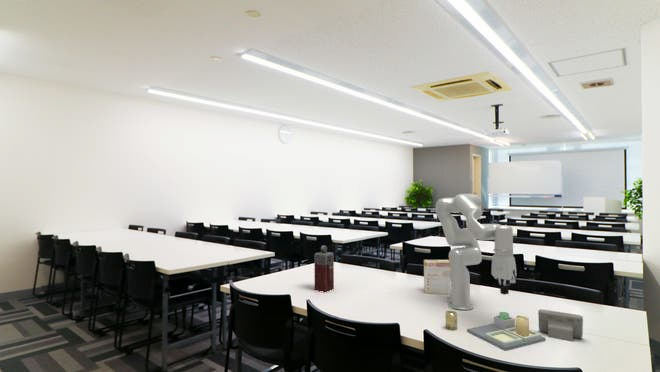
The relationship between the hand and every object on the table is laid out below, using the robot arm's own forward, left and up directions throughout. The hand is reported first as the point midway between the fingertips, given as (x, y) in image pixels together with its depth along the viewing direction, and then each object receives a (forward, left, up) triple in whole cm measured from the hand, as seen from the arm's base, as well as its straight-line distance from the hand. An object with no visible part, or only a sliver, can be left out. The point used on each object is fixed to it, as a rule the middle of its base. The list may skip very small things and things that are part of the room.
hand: (504, 293), depth 158 cm
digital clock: (+14, +16, -16) cm, 27 cm away
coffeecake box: (-58, +10, -16) cm, 61 cm away
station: (+5, -6, -16) cm, 18 cm away
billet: (-11, -21, -16) cm, 29 cm away
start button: (0, 0, -13) cm, 13 cm away
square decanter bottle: (-90, -51, -16) cm, 105 cm away
